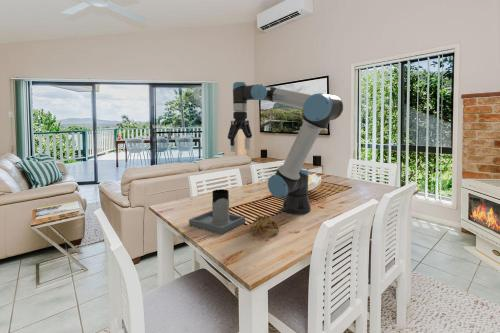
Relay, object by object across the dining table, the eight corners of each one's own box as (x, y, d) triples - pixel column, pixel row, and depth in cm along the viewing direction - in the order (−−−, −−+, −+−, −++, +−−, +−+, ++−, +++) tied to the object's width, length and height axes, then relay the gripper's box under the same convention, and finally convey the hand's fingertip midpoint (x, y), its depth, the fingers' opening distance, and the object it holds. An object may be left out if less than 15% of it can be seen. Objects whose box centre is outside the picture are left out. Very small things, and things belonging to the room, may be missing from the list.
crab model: (277, 240, 123) (277, 227, 122) (247, 237, 126) (247, 225, 125) (281, 226, 138) (281, 215, 137) (254, 224, 141) (254, 213, 140)
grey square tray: (244, 223, 142) (244, 217, 142) (222, 234, 128) (222, 228, 128) (212, 215, 153) (212, 210, 153) (189, 225, 139) (188, 219, 139)
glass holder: (213, 226, 135) (213, 194, 133) (208, 216, 149) (207, 187, 146) (232, 224, 138) (232, 192, 136) (225, 214, 151) (224, 186, 149)
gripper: (247, 112, 174) (247, 148, 178) (220, 111, 153) (221, 152, 157) (258, 111, 170) (257, 148, 174) (232, 111, 149) (232, 153, 153)
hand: (240, 150), depth 165 cm, fingers open, 13 cm apart
